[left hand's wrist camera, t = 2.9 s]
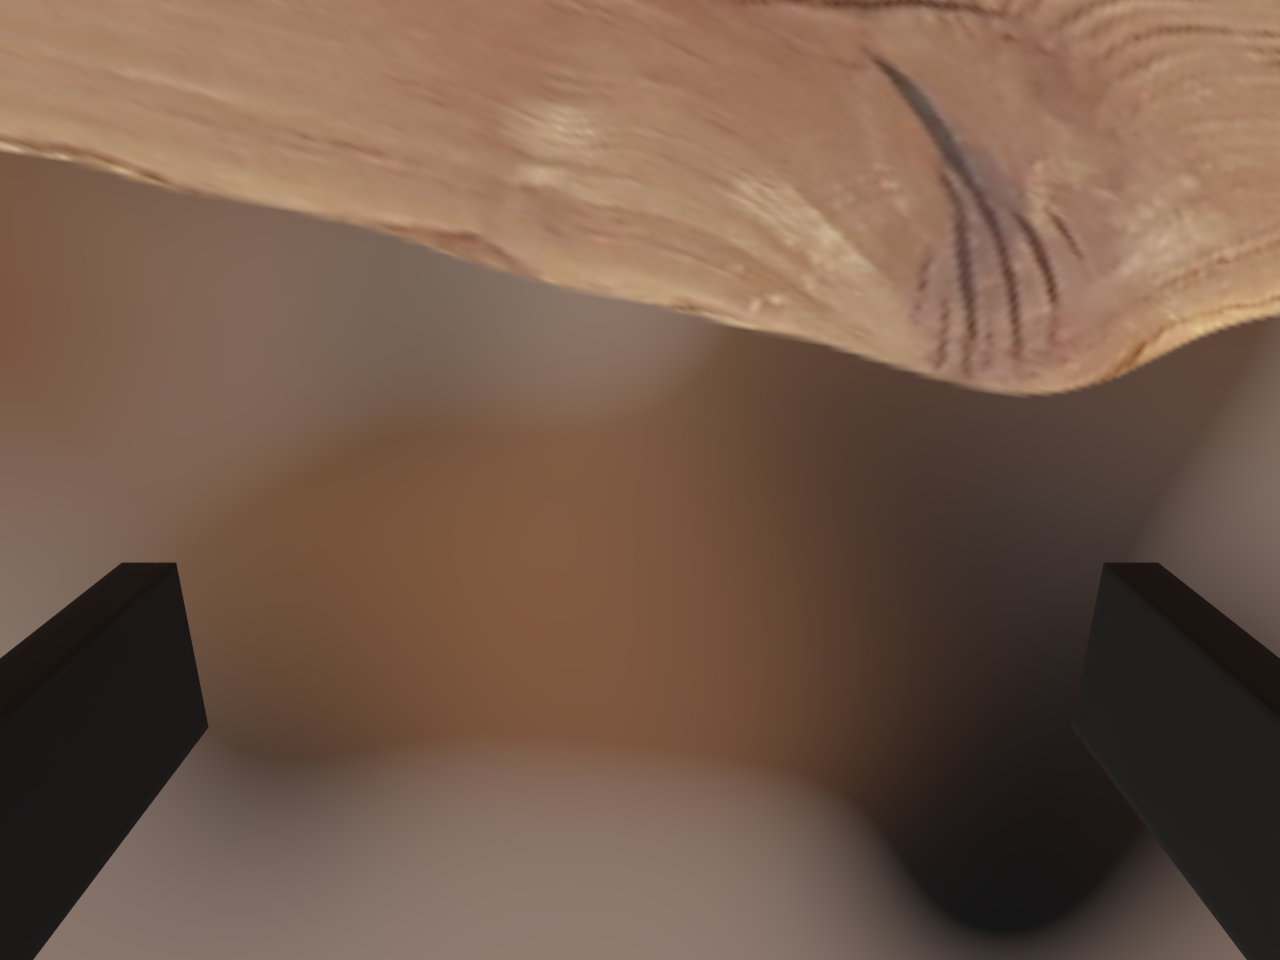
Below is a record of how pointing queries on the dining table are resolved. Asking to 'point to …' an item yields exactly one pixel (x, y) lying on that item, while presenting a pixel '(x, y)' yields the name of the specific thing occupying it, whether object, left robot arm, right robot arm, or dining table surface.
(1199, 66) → the dining table surface
